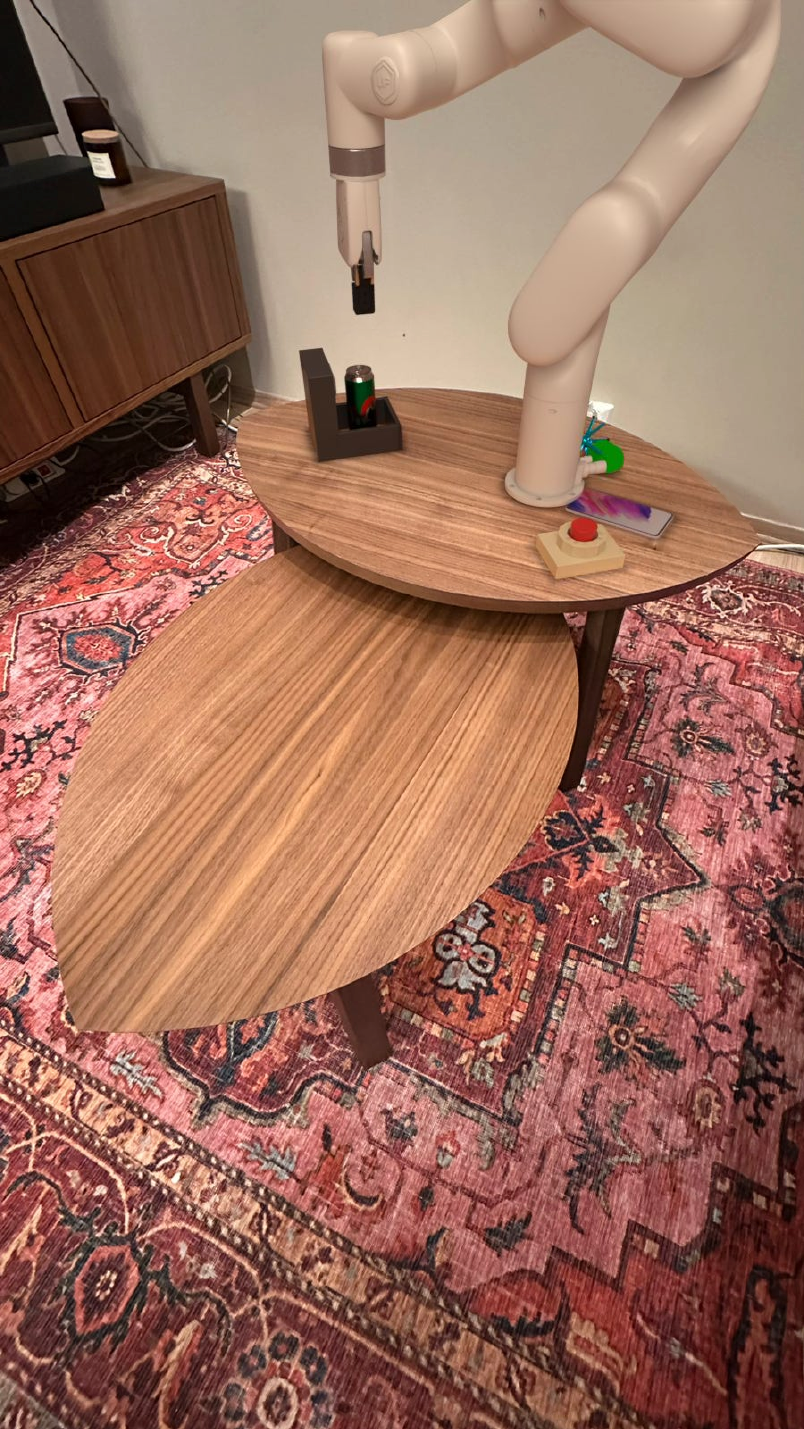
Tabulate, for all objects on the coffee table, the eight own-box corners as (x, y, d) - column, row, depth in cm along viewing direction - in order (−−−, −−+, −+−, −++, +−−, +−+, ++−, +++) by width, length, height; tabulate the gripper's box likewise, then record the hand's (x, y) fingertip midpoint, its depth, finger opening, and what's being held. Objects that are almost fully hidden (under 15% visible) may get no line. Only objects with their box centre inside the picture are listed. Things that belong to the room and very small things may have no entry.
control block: (599, 536, 101) (604, 512, 98) (622, 568, 96) (629, 543, 93) (534, 546, 100) (538, 522, 97) (555, 579, 94) (559, 555, 91)
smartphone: (658, 537, 100) (563, 508, 105) (656, 542, 100) (563, 512, 106) (675, 513, 103) (583, 486, 109) (674, 518, 104) (582, 491, 110)
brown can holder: (388, 420, 127) (384, 340, 117) (402, 450, 120) (399, 366, 109) (309, 431, 125) (298, 350, 115) (318, 461, 118) (308, 378, 107)
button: (589, 526, 96) (591, 515, 95) (599, 541, 94) (602, 530, 93) (565, 530, 96) (566, 519, 95) (575, 545, 94) (577, 534, 92)
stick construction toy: (548, 446, 114) (578, 403, 111) (558, 453, 121) (587, 412, 117) (604, 487, 112) (636, 445, 108) (611, 493, 118) (642, 452, 114)
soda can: (379, 432, 124) (375, 363, 115) (375, 446, 121) (371, 376, 112) (351, 432, 125) (345, 363, 116) (347, 445, 121) (341, 376, 112)
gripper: (320, 151, 96) (331, 298, 109) (339, 176, 86) (349, 333, 100) (373, 148, 97) (377, 293, 111) (397, 172, 87) (399, 328, 101)
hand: (364, 312), depth 105 cm, fingers closed
